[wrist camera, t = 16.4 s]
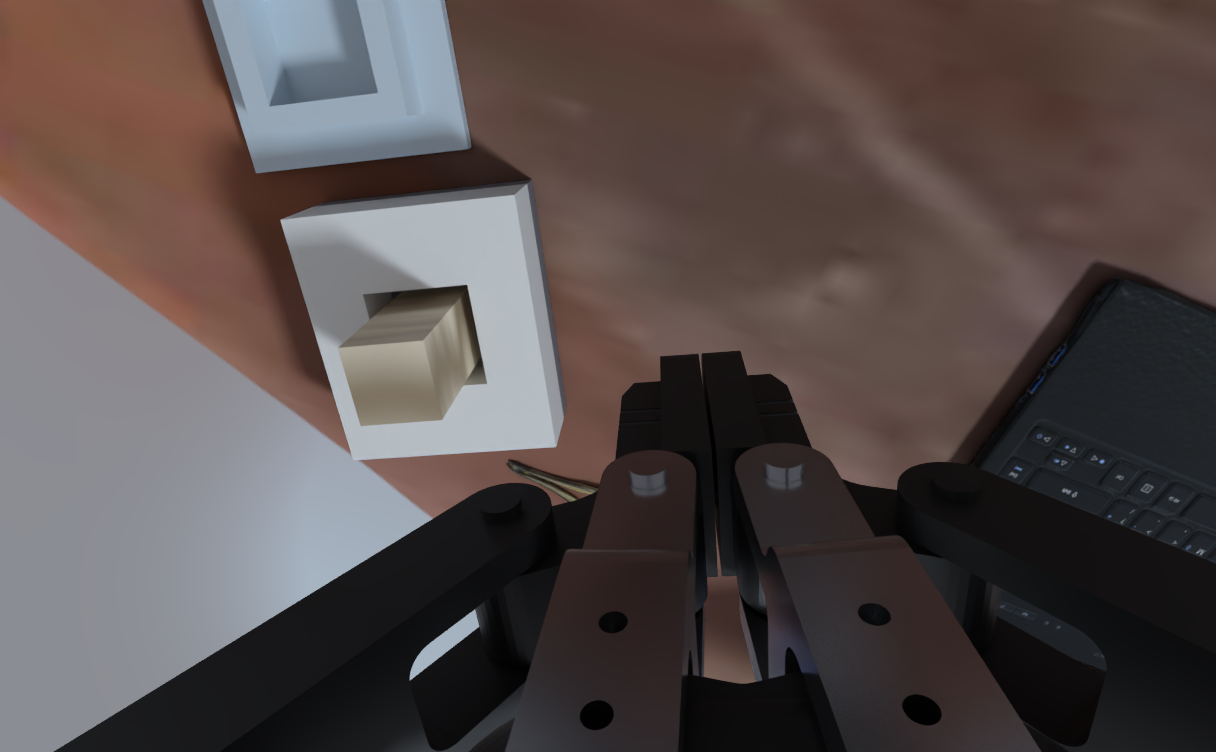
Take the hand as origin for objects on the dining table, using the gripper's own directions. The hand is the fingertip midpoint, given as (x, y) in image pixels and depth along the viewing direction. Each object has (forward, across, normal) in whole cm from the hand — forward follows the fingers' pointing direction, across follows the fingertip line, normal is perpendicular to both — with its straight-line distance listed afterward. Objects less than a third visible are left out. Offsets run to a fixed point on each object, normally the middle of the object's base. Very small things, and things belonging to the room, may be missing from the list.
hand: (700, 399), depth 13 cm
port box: (+26, +14, +6) cm, 30 cm away
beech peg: (+25, +14, +6) cm, 29 cm away
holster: (+26, +17, -9) cm, 32 cm away
